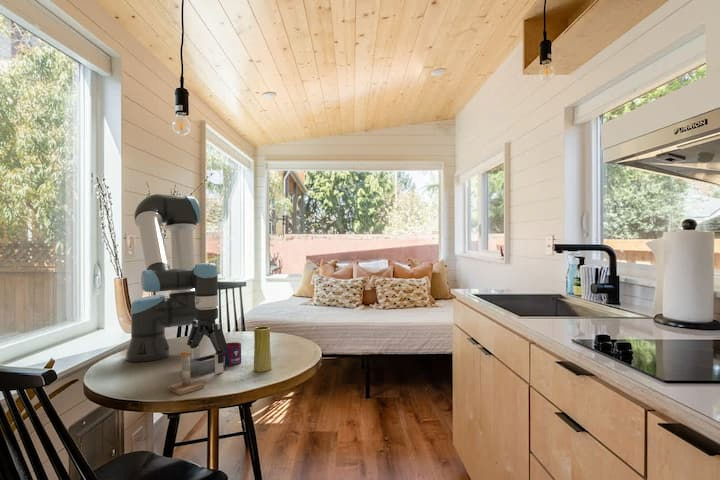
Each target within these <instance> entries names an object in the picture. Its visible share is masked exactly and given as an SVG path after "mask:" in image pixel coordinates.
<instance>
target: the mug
mask: <svg viewBox="0 0 720 480" xmlns="http://www.w3.org/2000/svg"><path fill="white" fill-rule="evenodd" d="M226 344H227V347H228V351H226V352H224V356H225V367H229V366H237V365H240V364H241V363H242V343H241V342H232V341H231V342H226Z"/></svg>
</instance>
